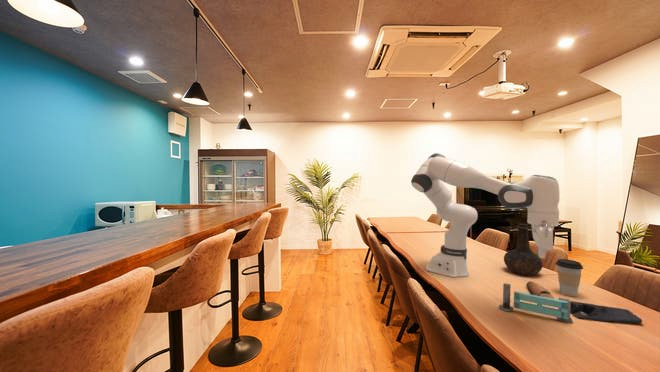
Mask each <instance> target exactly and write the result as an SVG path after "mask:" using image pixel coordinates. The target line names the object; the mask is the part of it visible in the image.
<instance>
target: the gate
mask: <svg viewBox="0 0 660 372" xmlns="http://www.w3.org/2000/svg"><path fill="white" fill-rule="evenodd" d="M513 308H514V309H519V310H522V311H527V312H531V313H536V314H541V315H546V316H550V317H555V318H556V317H559V318H563V319H568V302H567V301H563V300H559V299H556V298H555V299H552V298H547V297H542V296H536V295H532V293H531V294H530V293H526V292H520V291H513ZM558 308H560V309H558Z"/></svg>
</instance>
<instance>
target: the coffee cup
mask: <svg viewBox="0 0 660 372" xmlns="http://www.w3.org/2000/svg"><path fill="white" fill-rule="evenodd" d="M555 265H556V266H557V276H558V277H557V278H558V284H559V292H560V293H561V294H562V295H564V296H569V297H577V296H578V294H579V293H578V291H579V287H580V283H581V277H582V270H584V266H583V265H582V263H581V262H579V261H576V260H572V259H567V258H566V259H565V258H559V259H557V261H555Z"/></svg>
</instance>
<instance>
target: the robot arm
mask: <svg viewBox="0 0 660 372" xmlns="http://www.w3.org/2000/svg"><path fill="white" fill-rule="evenodd" d="M410 183H411V185H412V187H413V188H414V189H415V190H417V192H420V193H423V194H424V195H425V197H426V198H428V200H429V201H430V202H431V203H432V204H433V205H434V207H435V209H436V215H437V217H438V218H440V220H443V221H445V222H449V223H450V226H449V228H448V230H446V231H445V232H444V244H442V245H441V246H440V252H438V253H436V254H435V255H433V256H432V257H431V258H430V261H429V263H428V264H426V265H425V268H424V269H425V270H426V271H427V272H431V273H435V274H439V275H442V276H446V277H450V278H457V277H460V278H462V277H467V276H469V274H470V273H469V270H468V265H467V259H468V248H467V238H468V237H467V235H468V232H469V230H470V228H471V226H473V225H474V224H475V223H476V222H477V221H478V217H479V216H478V211H477V210H476V208H475V207H473V206H470V205H467V204H462V203H457V202H455V201H454V200H453V199H452V196H453V194H452V192H451V191H450V190H449V189H448V187H447V186H446V185H445V184H448V185H450V186H454V187H457V188H458V187H459V188H466V189H467V188H469V189H471V188H473V189H480V190H484V191H487V192H489V193H492V194H494V195H497V200H498V201H499V203H500V204H501V205H502V206H503V207H506V208H507V209H512V210H515V209H522V208H526V209H527V223H526V224H528V225H530V226H531V233H532V234H531V235H532V239H533V241H534V242H535V244H536V246H537V255H538V256H539V258H541V259H546V256H547V255H546V254H547V252H548V251H549V252H553V249H554V232H553V231H555V227H558V226H559V224H560V223H559V222H560V221H559V220H560V210H559V207H558V205H559V203H560V185H559V181H558V180H557V179H556V178H554V177H552V176H547V175H541V174H540V175H539V174H533V175H531V176H529V177H527V178H525V179H522V180H521V181H516V182H513V183H512V182H507V181H504V180H502V179H499V178H495V177H492V176H490V175H487V174H485V173H484V172H481V171H479V170H477V169H475V168H473V167H472V166H470V165H467V164H466V163H464V162H461V161H459V160H457V159H453V158H449V157H446V156H445V155H443V154H441V153H432V154H431V155H430V156H428V158H427V159H426V160H425V161H424V162H423V163H422V164H421V165H420V167H419V168H418V170H417V171H416V173H415V174H414V175H413V176H412V178H411V180H410ZM444 183H445V184H444Z"/></svg>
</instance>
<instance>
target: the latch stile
mask: <svg viewBox="0 0 660 372" xmlns="http://www.w3.org/2000/svg"><path fill="white" fill-rule="evenodd" d="M558 300H563V301H567V302H568V319H563V318H559V317H555V318H556V320H557V321H561V322H565V323H569V324H574V321H573V319H572V317H571V314H570V307H571V302H570V301H571V300H570V299H568V298H564V297H558ZM557 309H560V308H557Z"/></svg>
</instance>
